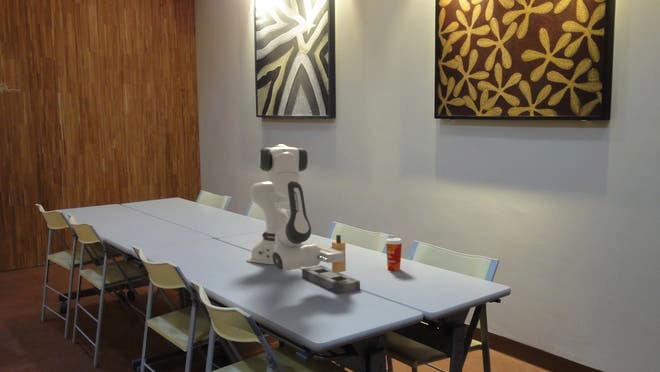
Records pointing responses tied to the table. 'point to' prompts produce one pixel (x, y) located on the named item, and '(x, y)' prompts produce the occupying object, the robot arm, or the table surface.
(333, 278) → the grey socket board
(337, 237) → the plug
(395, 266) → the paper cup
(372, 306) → the table surface
